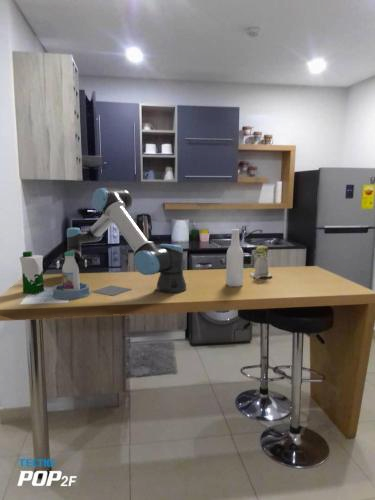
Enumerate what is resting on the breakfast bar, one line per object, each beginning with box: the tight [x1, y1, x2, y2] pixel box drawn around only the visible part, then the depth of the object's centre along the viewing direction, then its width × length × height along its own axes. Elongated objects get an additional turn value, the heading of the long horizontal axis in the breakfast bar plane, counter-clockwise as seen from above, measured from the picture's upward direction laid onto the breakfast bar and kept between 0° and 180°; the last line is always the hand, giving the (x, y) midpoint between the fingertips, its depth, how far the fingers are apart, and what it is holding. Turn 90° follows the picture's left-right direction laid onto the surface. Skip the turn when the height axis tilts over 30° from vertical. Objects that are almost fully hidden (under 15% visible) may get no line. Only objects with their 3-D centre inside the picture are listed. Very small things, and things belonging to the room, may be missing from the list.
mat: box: [91, 285, 132, 297], centre depth 181 cm, size 14×14×1 cm
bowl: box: [52, 282, 92, 301], centre depth 174 cm, size 18×18×4 cm
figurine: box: [249, 245, 273, 280], centre depth 211 cm, size 12×13×18 cm
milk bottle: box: [61, 250, 80, 291], centre depth 172 cm, size 8×8×20 cm
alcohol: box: [225, 228, 244, 287], centre depth 191 cm, size 9×9×30 cm
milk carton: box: [19, 251, 45, 295], centre depth 176 cm, size 9×9×20 cm
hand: (71, 264), depth 181 cm, fingers open, 13 cm apart
